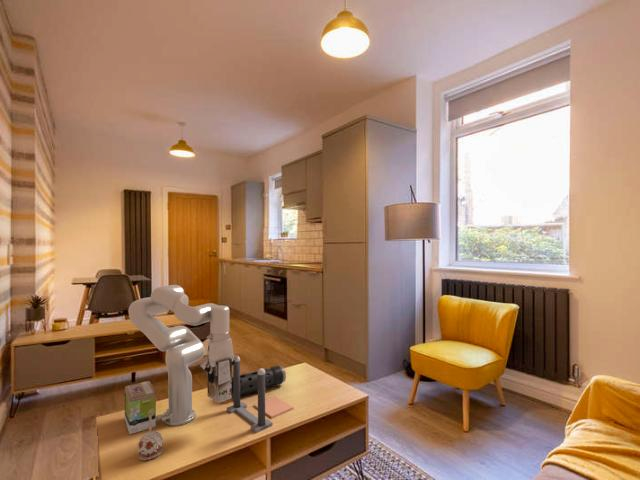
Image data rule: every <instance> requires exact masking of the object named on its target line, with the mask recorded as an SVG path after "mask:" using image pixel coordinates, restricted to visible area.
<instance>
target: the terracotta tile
mask: <svg viewBox="0 0 640 480" xmlns="http://www.w3.org/2000/svg"><path fill="white" fill-rule="evenodd" d="M253 407H254V408H256V409H257V410H258V402H256V403H254V404H253ZM294 408H295V407H294V406H292V405H291V404H289V403H288V402H286V401H284V400H282V399H281V398H279V397H277V396H272V397H269V398H267V399H266V398H265V416H267V417H269V418H270V419H274V418H276V417H278V416H282V414H285V413H288V412H290V411H292V410H294Z"/></svg>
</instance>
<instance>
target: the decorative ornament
mask: <svg viewBox="0 0 640 480" xmlns="http://www.w3.org/2000/svg"><path fill="white" fill-rule="evenodd" d="M136 445H137V451H138V454H137V458H138V459H139V460H140V461H147V460H149V461H150V460H151V459H155V458H156V457H159V456H160V455H161V454H162V453H163V435H162V433H160V432H159V431H157V430H152V413H149V429H148V431H147V432H146V433H144V434H142V436H140V438H139V440H138V443H137V444H136Z"/></svg>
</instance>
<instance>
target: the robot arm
mask: <svg viewBox="0 0 640 480" xmlns="http://www.w3.org/2000/svg"><path fill="white" fill-rule="evenodd" d="M189 303H190V300H189V296H188V295H187V294H186V293H185V290H184V288H183V287H182V286H180V285H178V284H169V285H161V286H158V287H156V288H154V289H153V291H151V294H150V297H149V296H148V297H143V298H140V299H136V300H135V301H133V302H131V304H130V305H129V306H128V317H129V320H130V322H131V323H132V325H133V326H134V327H135V328H137V330H139V331H140V332H141V333H143V334H144V335H145V336H146V338H147V339H148V340H149V341H150V342H151V343H152V344H153V345H154V346H155V347H156V348H157V349H158V351H161V352H167V353H166V354H165V364H166V365H165V366H166V369H167V375H168V377H167V378H168V379H167V383H168V387H167V389H168V390H167V391H168V393H167V394H168V395H167V397H168V408H167V409H166V410H165V411H164V412H163V413H161V414H156V422H157V421H160V420H161V422H164V423H165V424H166V425H168V426H181V425H182V426H183V425H185V424H188V423H190V422H192V421H193V420H194V419H195V418H196V416H197V413H196V410H194V409H193V376H192V371H191V370H190V369H189V366H190V365H191V364H194V363H195V362H198V361H200V360H202V358H204V356H205V355H206V357H205V359H204V360H203V361H202V362H201V364H200V367H201V368H202V369H203V370H204V371H205V372H207V382H208V381H209V382H210V383H213V382H214V374H213V373H212V372H213V369H214V367H216V362H217V361H221V360H223V359H228V358H231V359H232V367H233V364H234V363H235V361H236V360H237V358H238V356H239V355H237V354H235V353H234V346H233V340H232V338H231V337H230V311H231V310H230V307H229V306H228V305H222V304H221V305H219V304H216V303H213V302H210V303H204V304H200V305H196V306H191V305H189ZM167 311H171V312H173V314H174V316H175V318H176V319H177V320H178V321H179V322H182V323H183V324H187V325H189V326H199V325H202V324H205V323H210V325H209V326H210V327H209V329H210V332H209V335H207V336H206V339H207V340H208V342H207V343H208V344H207V348H205V345H204V344H203V342H202V341H201V339H200V338H199V337H197V336H196V335H195V334H194V333H193V332H192V330H191V329H190V328H188V327H186V326H185V325H182V324H181V325H175V326H171V327H168V326H167V325H166V324H165V323H164V322H163V321H162V320H160V319H159V318H157V317H153V315H158V314H162V313H165V312H167ZM206 365H207V366H206ZM208 365H209V366H208Z"/></svg>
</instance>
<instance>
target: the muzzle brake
mask: <svg viewBox="0 0 640 480" xmlns="http://www.w3.org/2000/svg"><path fill="white" fill-rule="evenodd" d="M263 369H264V370H265V390H269V389H271V388H273V387H276V386H280V385H282V384H283V383H285V382H286V378H287V375H286V374H287V373H286V370H285V368H284V366H281V365H275V366H271V367H269V368H263ZM257 372H258V370H256V371H252V372H248V373H244V374H240V397H242V396H246V395H249V394H252V393H254V392H255V393H256V392H258V374H257ZM232 397H233V376H232Z"/></svg>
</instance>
